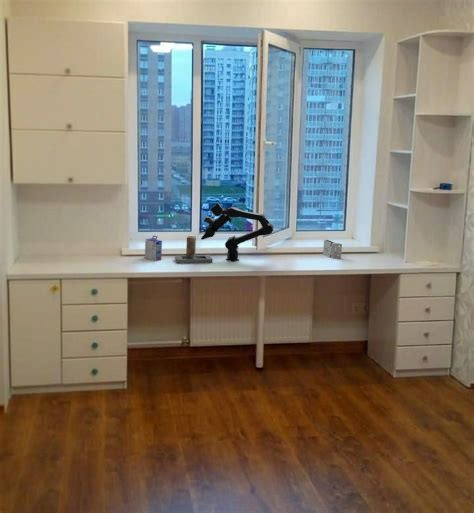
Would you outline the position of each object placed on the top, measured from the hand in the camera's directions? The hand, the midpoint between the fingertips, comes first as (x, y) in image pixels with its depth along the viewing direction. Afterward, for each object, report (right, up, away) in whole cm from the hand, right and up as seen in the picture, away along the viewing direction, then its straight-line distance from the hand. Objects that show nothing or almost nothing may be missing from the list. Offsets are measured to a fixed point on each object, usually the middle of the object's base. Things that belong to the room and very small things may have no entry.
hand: (202, 237), depth 408 cm
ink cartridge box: (-31, -14, -5) cm, 34 cm away
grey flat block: (-5, -15, -6) cm, 17 cm away
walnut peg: (-8, -12, +4) cm, 15 cm away
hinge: (+85, -12, +23) cm, 89 cm away
